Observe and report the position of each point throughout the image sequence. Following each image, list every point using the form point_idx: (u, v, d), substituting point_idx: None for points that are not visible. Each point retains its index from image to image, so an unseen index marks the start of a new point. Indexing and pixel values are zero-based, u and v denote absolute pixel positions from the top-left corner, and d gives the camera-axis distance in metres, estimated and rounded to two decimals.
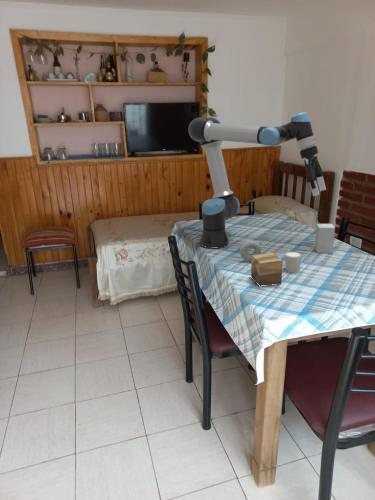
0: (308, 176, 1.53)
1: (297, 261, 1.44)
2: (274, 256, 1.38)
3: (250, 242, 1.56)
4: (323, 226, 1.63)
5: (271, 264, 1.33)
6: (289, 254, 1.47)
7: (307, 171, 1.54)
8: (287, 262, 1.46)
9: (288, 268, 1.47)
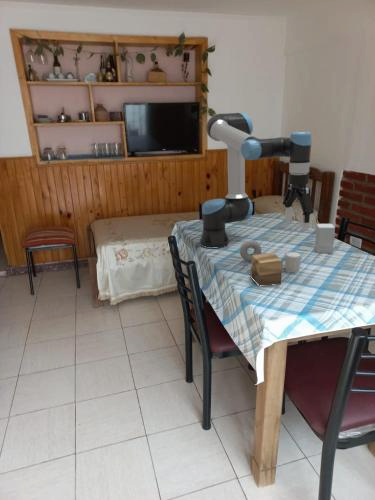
0: (309, 208, 1.31)
1: (297, 261, 1.44)
2: (274, 256, 1.38)
3: (250, 242, 1.56)
4: (323, 226, 1.63)
5: (271, 264, 1.33)
6: (289, 254, 1.47)
7: (307, 202, 1.32)
8: (287, 262, 1.46)
9: (288, 268, 1.47)
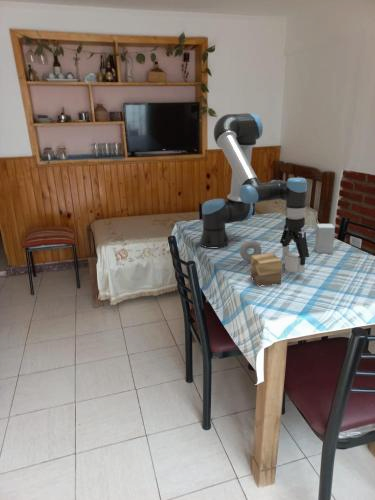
0: (304, 252, 1.36)
1: (297, 261, 1.44)
2: (273, 256, 1.38)
3: (250, 242, 1.56)
4: (323, 226, 1.63)
5: (270, 265, 1.33)
6: (289, 254, 1.47)
7: (303, 246, 1.36)
8: (287, 262, 1.46)
9: (288, 268, 1.47)
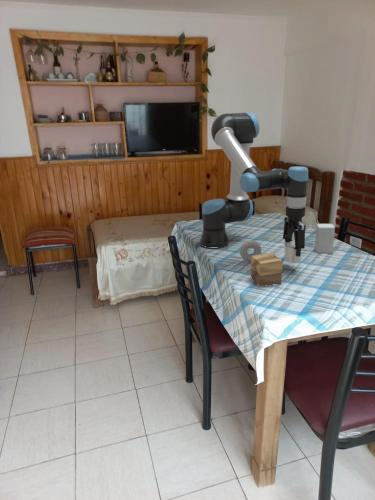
0: (301, 244, 1.38)
1: None
2: (273, 256, 1.38)
3: (250, 242, 1.56)
4: (323, 226, 1.63)
5: (271, 265, 1.33)
6: (289, 244, 1.46)
7: (300, 238, 1.38)
8: (287, 252, 1.45)
9: (288, 258, 1.46)
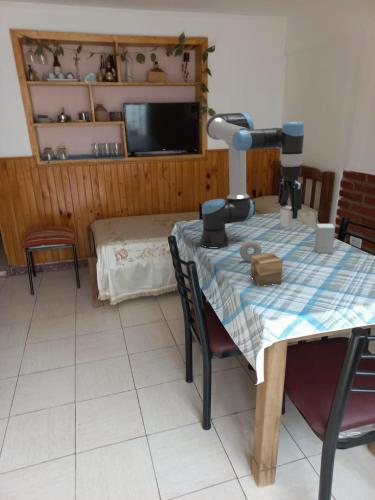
0: (297, 205, 1.30)
1: None
2: (273, 256, 1.38)
3: (250, 242, 1.56)
4: (323, 226, 1.63)
5: (271, 264, 1.33)
6: (285, 207, 1.38)
7: (297, 198, 1.29)
8: (283, 216, 1.37)
9: (284, 222, 1.37)
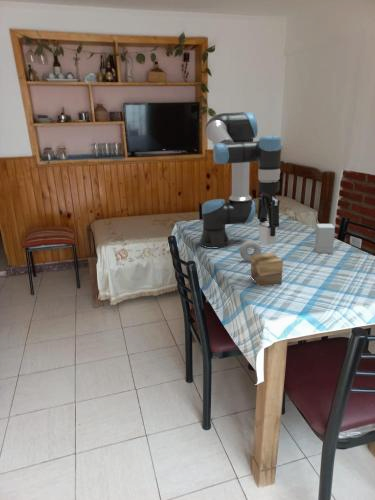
0: (274, 222, 1.25)
1: None
2: (274, 256, 1.38)
3: (250, 242, 1.56)
4: (323, 226, 1.63)
5: (271, 265, 1.32)
6: (263, 224, 1.32)
7: (274, 215, 1.24)
8: (261, 233, 1.31)
9: (262, 239, 1.32)
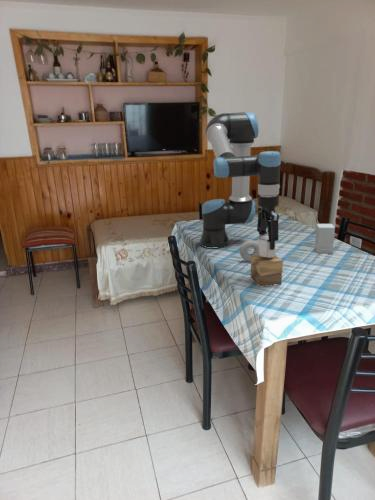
0: (274, 236, 1.26)
1: None
2: None
3: (250, 242, 1.56)
4: (323, 226, 1.63)
5: (271, 265, 1.33)
6: (263, 237, 1.34)
7: (273, 229, 1.26)
8: (260, 246, 1.33)
9: (262, 252, 1.34)
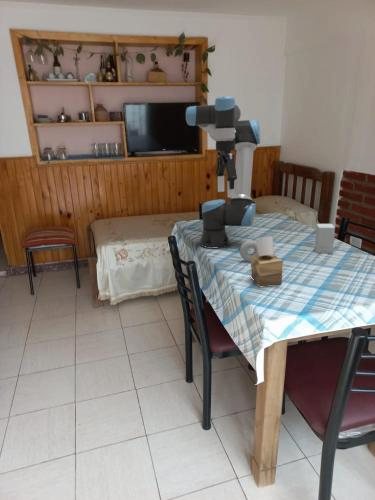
0: (232, 174, 1.31)
1: (272, 241, 1.35)
2: (274, 256, 1.37)
3: (250, 242, 1.56)
4: (323, 226, 1.63)
5: (271, 265, 1.32)
6: None
7: (231, 167, 1.31)
8: (263, 244, 1.33)
9: (266, 251, 1.33)
